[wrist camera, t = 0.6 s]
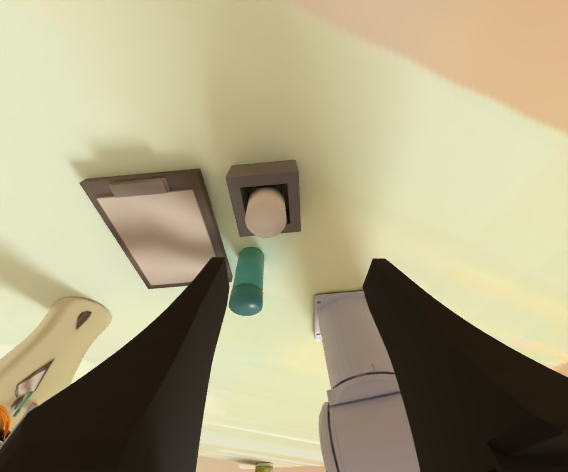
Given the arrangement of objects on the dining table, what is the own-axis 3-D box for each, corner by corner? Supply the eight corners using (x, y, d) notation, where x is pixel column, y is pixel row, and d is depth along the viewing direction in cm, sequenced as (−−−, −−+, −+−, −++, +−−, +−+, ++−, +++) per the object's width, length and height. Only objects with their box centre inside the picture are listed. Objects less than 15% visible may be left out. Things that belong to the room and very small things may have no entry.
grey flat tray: (232, 276, 24) (230, 286, 23) (151, 283, 24) (145, 293, 23) (199, 168, 17) (194, 174, 16) (86, 179, 17) (73, 186, 16)
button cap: (285, 213, 18) (287, 235, 16) (252, 216, 18) (248, 239, 16) (283, 181, 17) (284, 200, 14) (246, 184, 17) (241, 204, 14)
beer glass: (35, 297, 25) (-196, 508, 13) (95, 290, 25) (-80, 498, 12) (75, 331, 29) (-70, 516, 17) (127, 326, 29) (19, 509, 16)
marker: (266, 265, 24) (264, 314, 19) (241, 267, 24) (232, 317, 19) (262, 245, 22) (260, 293, 17) (235, 248, 22) (225, 296, 17)
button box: (297, 215, 20) (300, 231, 18) (243, 220, 20) (239, 236, 18) (295, 159, 17) (298, 171, 15) (231, 165, 17) (225, 177, 15)
